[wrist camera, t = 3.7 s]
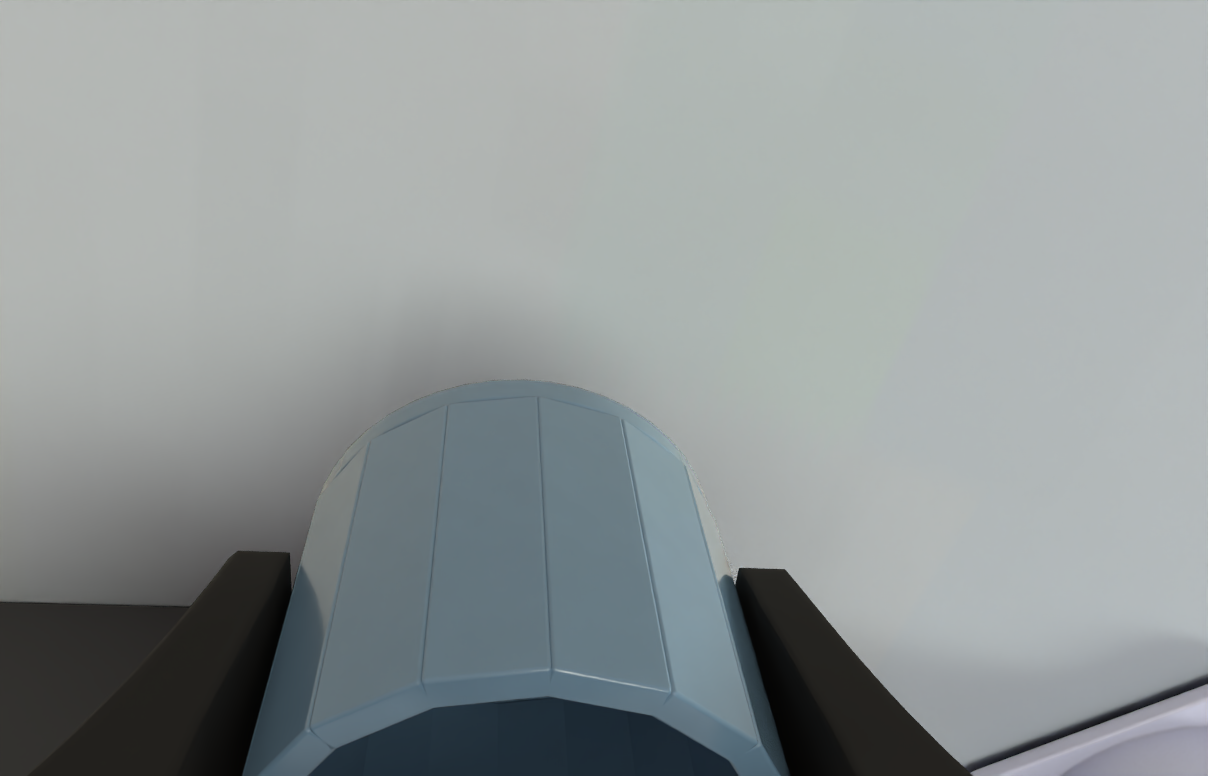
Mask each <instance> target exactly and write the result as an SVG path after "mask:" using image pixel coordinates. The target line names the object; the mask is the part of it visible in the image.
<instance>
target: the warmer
mask: <svg viewBox="0 0 1208 776" xmlns="http://www.w3.org/2000/svg"><path fill="white" fill-rule="evenodd" d="M189 608H190V607H150V606H110V605H70V604H30V603H0V776H25V775H27V774H28V773H29V772H30V771H31V770H32V769H33V768H35V767H36V766H37V765H38V764H39V763H40V762H41V761H42V760H44V759H45V758H46V757H47V756H48V755H49V754H50V753H51V752H52V751H53V750H55V749H56V748H57V747H58V746H59V745H60V744H61V743H62V742H63V741H64V740H65V739H66V738H67V737H69V736H70V735H71V734H72V733H73V732H74V731H75V730H76V729H77V728H78V727H79V726H80V725H81V724H82V723H83V722H84V721H85V720H86V719H87V718H88V717H89V716H90V715H91V714H92V713H93V712H94V711H95V710H96V709H97V708H98V707H99V706H100V705H101V704H102V703H103V702H104V701H105V700H106V699H107V698H108V697H109V696H110V695H111V694H112V693H113V692H114V691H115V690H116V689H117V688H118V687H119V686H120V685H121V684H122V683H123V682H124V681H125V680H126V679H127V678H128V677H129V675H130V674H131V673H132V672H133V671H134V670H135V669H136V668H137V667H138V666H139V665H140V663H141V662H142V661H143V660H144V659H145V658H146V657H147V656H148V655H149V653H150V652H151V651H152V650H153V649H154V648H155V647H156V646H157V645H158V643H159V642H160V641H161V640H162V639H163V638H164V637H165V636H166V635H167V633H168V632H169V631H170V630H171V629H172V628H173V627H174V625H175V624H176V623H177V622H178V621H179V620H180V618H181V617H182V616H183V615H184V614H185V612H186V611H187V610H188V609H189Z"/></svg>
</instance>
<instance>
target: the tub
mask: <svg viewBox="0 0 1208 776" xmlns="http://www.w3.org/2000/svg"><path fill="white" fill-rule="evenodd" d="M242 776H790V773H789V769H788V766H787V762H786V759H785V756H784V752H783V749H782V745H781V742H780V738H779V735H778V732H777V728H776V725H775V721H774V718H773V714H772V711H771V708H770V704H769V701H768V697H767V694H766V691H765V687H764V684H763V680H762V677H761V673H760V670H759V667H758V663H757V660H756V656H755V653H754V650H753V646H752V643H751V639H750V636H749V632H748V629H747V626H746V622H745V619H744V615H743V612H742V608H741V605H740V602H739V598H738V595H737V591H736V588H735V585H734V581H733V578H732V574H731V571H730V567H729V564H728V561H727V557H726V554H725V550H724V547H723V543H722V540H721V537H720V533H719V530H718V526H717V523H716V520H715V519H714V517H713V515H712V513H711V511H710V509H709V507H708V505H707V501H706V498H705V494H704V492H703V489H702V487H701V485H700V482H699V480H698V478H697V476H696V473H695V472H694V470H693V469H692V467H691V465H690V464H689V462H688V461H687V459H686V458H685V456H684V455H683V453H682V452H681V451H680V450H679V449H678V448H677V447H676V445H675V444H674V443H673V442H672V441H671V440H670V439H669V438H668V437H667V436H666V435H665V434H664V433H663V432H662V431H660V430H659V429H658V428H657V427H656V426H654V425H653V424H652V423H651V422H650V421H648V420H647V419H645V418H644V417H642V416H640V415H639V414H637V413H636V412H634V411H633V410H631V409H630V408H628V407H626V406H624V405H622V404H620V403H618V402H616V401H613V400H611V399H609V398H607V397H605V396H603V395H600V394H596V393H593V392H590V391H587V390H584V389H581V388H578V387H574V386H569V385H564V384H559V383H554V382H547V381H535V380H523V379H518V380H492V381H485V382H478V383H471V384H465V385H461V386H457V387H453V388H449V389H446V390H442V391H438V392H436V393H433V394H430V395H428V396H425V397H423V398H420V399H418V400H415V401H413V402H411V403H409V404H407V405H405V406H404V407H402V408H400V409H398V410H396V411H394V412H393V413H391V414H389V415H387V416H386V417H385V418H383V419H382V420H380V421H379V422H378V423H376V424H375V425H374V426H372V427H371V428H370V429H368V430H367V431H366V432H365V433H364V434H363V435H361V436H360V437H359V438H358V439H357V440H356V441H355V442H354V443H353V444H352V445H351V446H350V447H349V448H348V449H347V451H346V452H345V453H344V454H343V456H342V457H341V458H340V460H339V461H338V462H337V464H336V465H335V466H334V467H333V469H332V471H331V473H330V475H329V477H328V478H327V480H326V482H325V484H324V486H323V487H322V490H321V493H320V496H319V499H318V500H317V502H316V505H315V509H314V513H313V516H312V520H311V524H310V527H309V531H308V535H307V538H306V542H305V546H304V549H303V553H302V557H301V560H300V564H299V567H298V571H297V575H296V578H295V582H294V586H293V589H292V593H291V597H290V600H289V604H288V608H287V611H286V615H285V619H284V622H283V626H282V630H281V633H280V637H279V641H278V644H277V648H276V652H275V655H274V659H273V663H272V666H271V670H270V674H269V677H268V681H267V685H266V688H265V692H264V695H263V699H262V703H261V706H260V710H259V714H258V717H257V721H256V725H255V728H254V732H253V736H252V739H251V743H250V747H249V750H248V754H247V758H246V761H245V765H244V769H243V772H242Z"/></svg>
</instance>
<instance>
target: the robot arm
mask: <svg viewBox="0 0 1208 776" xmlns="http://www.w3.org/2000/svg"><path fill="white" fill-rule="evenodd" d="M735 588H736V591H737V595H738V598H739V602H740V605H741V608H742V612H743V615H744V619H745V622H746V626H747V629H748V632H749V636H750V639H751V643H752V646H753V650H754V653H755V656H756V660H757V663H758V667H759V670H760V673H761V677H762V680H763V684H764V687H765V691H766V694H767V697H768V701H769V704H770V708H771V711H772V714H773V718H774V721H775V725H776V728H777V732H778V735H779V738H780V742H781V745H782V749H783V752H784V756H785V759H786V762H787V766H788V769H789V773H790V776H1208V684H1206V685H1203V686H1200V687H1198V688H1195V689H1192V690H1190V691H1187V692H1184V693H1182V694H1179V695H1176V696H1174V697H1171V698H1168V699H1165V700H1163V701H1160V702H1157V703H1155V704H1152V705H1149V706H1147V707H1144V708H1141V709H1139V710H1136V711H1133V712H1131V713H1128V714H1125V715H1122V716H1120V717H1117V718H1114V719H1112V720H1109V721H1106V722H1104V723H1101V724H1098V725H1096V726H1093V727H1090V728H1087V729H1085V730H1082V731H1079V732H1077V733H1074V734H1071V735H1069V736H1066V737H1063V738H1061V739H1058V740H1055V741H1053V742H1050V743H1047V744H1044V745H1042V746H1039V747H1036V748H1034V749H1031V750H1028V751H1026V752H1023V753H1020V754H1018V755H1015V756H1012V757H1010V758H1007V759H1004V760H1001V761H999V762H996V763H993V764H991V765H988V766H985V767H983V768H980V769H977V770H975V771H972V772H970V773H969V772H968V771H967V770H966V769H965V768H964V767H963V766H962V765H961V764H960V763H959V762H958V761H956V760H955V759H954V758H953V757H952V756H951V755H950V754H949V753H948V752H947V751H946V750H945V749H944V748H943V747H942V746H941V745H940V744H939V743H938V742H937V741H936V740H935V739H934V738H933V737H932V736H931V735H930V734H929V733H928V732H927V731H926V730H925V729H924V728H923V727H922V726H921V725H920V724H919V723H918V722H917V721H916V720H915V719H914V718H913V717H912V716H911V715H910V714H909V713H908V712H907V711H906V710H905V709H904V708H903V707H902V706H901V704H900V703H899V702H898V701H897V700H896V699H895V698H894V697H893V696H892V695H891V694H890V693H889V691H888V690H887V689H886V688H885V687H884V686H883V685H882V684H881V683H880V681H879V680H878V679H877V678H876V677H875V676H874V675H873V674H872V672H871V671H870V670H869V669H868V668H867V667H866V666H865V665H864V663H863V662H862V661H861V660H860V659H859V658H858V656H857V655H856V654H855V653H854V652H853V651H852V649H851V648H850V647H849V646H848V645H847V644H846V642H845V641H844V640H843V639H842V638H841V636H840V635H839V634H838V633H837V632H836V630H835V629H834V628H833V627H832V626H831V624H830V623H829V622H828V621H827V620H826V618H825V617H824V616H823V615H822V613H821V612H820V611H819V610H818V609H817V607H816V606H815V605H814V604H813V603H812V601H811V600H810V599H809V598H808V596H807V595H806V594H805V593H804V592H803V590H802V589H801V588H800V587H799V586H798V584H797V583H796V582H795V581H794V580H793V578H792V577H791V576H790V575H789V574H788V572H787V571H786V570H785V569H758V568H739V571H738V575H737V580H736V584H735ZM291 593H292V588H291V569H290V553H286V552H257V551H237V552H236V553H235V554H234V555H232V556H231V557H230V558H229V559H228V560H227V561H226V563H225V564H224V565H223V567H222V568H221V569H220V570H219V572H218V573H217V574H216V576H215V577H214V578H213V579H212V581H211V582H210V583H209V584H208V586H207V587H206V588H205V589H204V591H203V592H202V593H201V594H200V596H199V597H198V598H197V599H196V600H195V602H194V603H193V604H192V605H191V607H190V608H189V609H188V610H187V611H186V612H185V614H184V615H183V616H182V617H181V618H180V620H179V621H178V622H177V623H176V624H175V625H174V627H173V628H172V629H171V630H170V631H169V632H168V633H167V635H166V636H165V637H164V638H163V639H162V640H161V641H160V642H159V643H158V645H157V646H156V647H155V648H154V649H153V650H152V651H151V652H150V653H149V655H148V656H147V657H146V658H145V659H144V660H143V661H142V662H141V663H140V665H139V666H138V667H137V668H136V669H135V670H134V671H133V672H132V673H131V674H130V675H129V677H128V678H127V679H126V680H125V681H124V682H123V683H122V684H121V685H120V686H119V687H118V688H117V689H116V690H115V691H114V692H113V693H112V694H111V695H110V696H109V697H108V698H107V699H106V700H105V701H104V702H103V703H102V704H101V705H100V706H99V707H98V708H97V709H96V710H95V711H94V712H93V713H92V714H91V715H90V716H89V717H88V718H87V719H86V720H85V721H84V722H83V723H82V724H81V725H80V726H79V727H78V728H77V729H76V730H75V731H74V732H73V733H72V734H71V735H70V736H69V737H67V738H66V739H65V740H64V741H63V742H62V743H61V744H60V745H59V746H58V747H57V748H56V749H55V750H53V751H52V752H51V753H50V754H49V755H48V756H47V757H46V758H45V759H44V760H42V761H41V762H40V763H39V764H38V765H37V766H36V767H35V768H33V769H32V770H31V771H30V772H29V773H28V774H27V775H25V776H242V772H243V769H244V765H245V761H246V758H247V754H248V750H249V747H250V743H251V739H252V736H253V732H254V728H255V725H256V721H257V717H258V714H259V710H260V706H261V703H262V699H263V695H264V692H265V688H266V685H267V681H268V677H269V674H270V670H271V666H272V663H273V659H274V655H275V652H276V648H277V644H278V641H279V637H280V633H281V630H282V626H283V622H284V619H285V615H286V611H287V608H288V604H289V600H290V597H291Z"/></svg>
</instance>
